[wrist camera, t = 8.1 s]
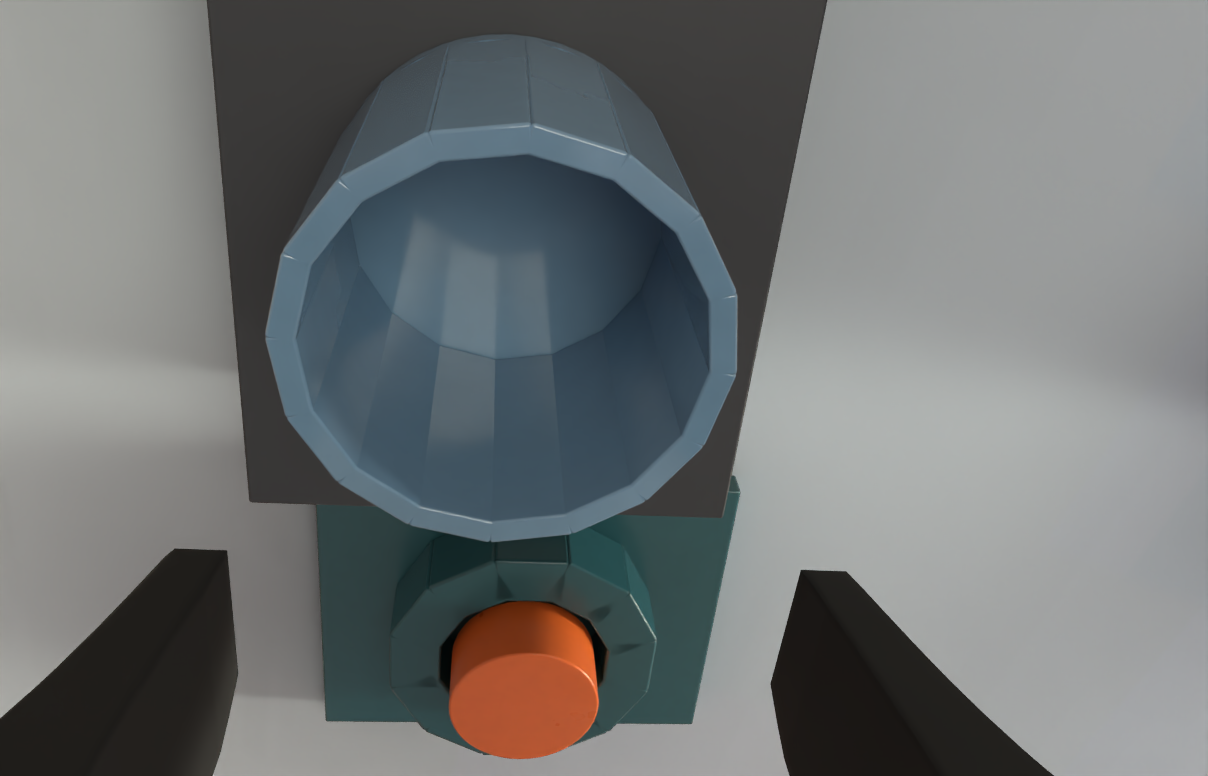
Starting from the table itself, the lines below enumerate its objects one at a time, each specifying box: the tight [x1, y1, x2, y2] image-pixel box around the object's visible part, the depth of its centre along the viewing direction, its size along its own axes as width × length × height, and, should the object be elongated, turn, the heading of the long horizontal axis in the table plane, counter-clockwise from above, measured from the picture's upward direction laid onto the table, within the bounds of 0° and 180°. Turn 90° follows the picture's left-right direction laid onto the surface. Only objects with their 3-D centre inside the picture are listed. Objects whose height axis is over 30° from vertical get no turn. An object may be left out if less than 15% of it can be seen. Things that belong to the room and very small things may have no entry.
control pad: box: [316, 476, 740, 755], centre depth 25 cm, size 10×8×2 cm
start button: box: [449, 601, 599, 759], centre depth 24 cm, size 3×3×2 cm
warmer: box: [207, 0, 827, 518], centre depth 18 cm, size 9×12×4 cm
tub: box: [265, 34, 738, 542], centre depth 14 cm, size 6×6×5 cm
